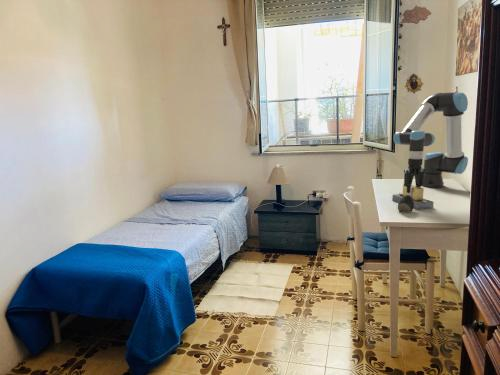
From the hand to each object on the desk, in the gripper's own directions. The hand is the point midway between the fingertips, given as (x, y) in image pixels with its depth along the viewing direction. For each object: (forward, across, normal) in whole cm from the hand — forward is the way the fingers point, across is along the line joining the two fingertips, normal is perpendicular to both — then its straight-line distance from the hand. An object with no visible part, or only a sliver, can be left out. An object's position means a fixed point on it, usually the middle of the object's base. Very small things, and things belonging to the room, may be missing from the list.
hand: (412, 197), depth 223 cm
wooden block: (+2, 0, 0) cm, 2 cm away
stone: (+4, -14, -11) cm, 18 cm away
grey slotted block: (+4, 0, 0) cm, 4 cm away
